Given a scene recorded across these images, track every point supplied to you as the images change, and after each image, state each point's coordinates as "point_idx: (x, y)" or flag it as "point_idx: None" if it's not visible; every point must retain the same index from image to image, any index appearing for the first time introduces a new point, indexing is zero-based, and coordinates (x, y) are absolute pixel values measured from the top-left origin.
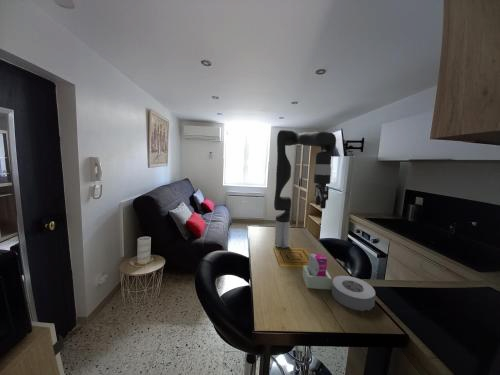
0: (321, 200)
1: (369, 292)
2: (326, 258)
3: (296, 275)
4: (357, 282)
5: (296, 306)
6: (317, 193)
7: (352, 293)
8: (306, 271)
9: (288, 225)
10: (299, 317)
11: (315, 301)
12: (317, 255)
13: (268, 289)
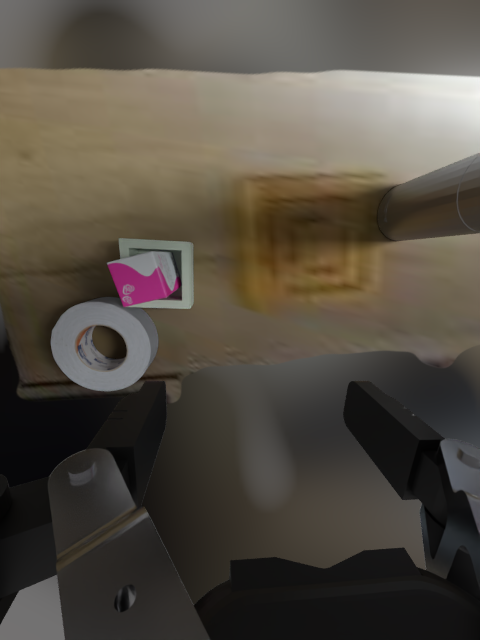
0: (124, 455)
1: (81, 374)
2: (126, 306)
3: (190, 225)
4: (121, 366)
5: (43, 190)
6: (469, 548)
7: (66, 334)
8: (151, 242)
9: (469, 221)
10: (5, 189)
11: (76, 246)
12: (143, 280)
13: (99, 117)
